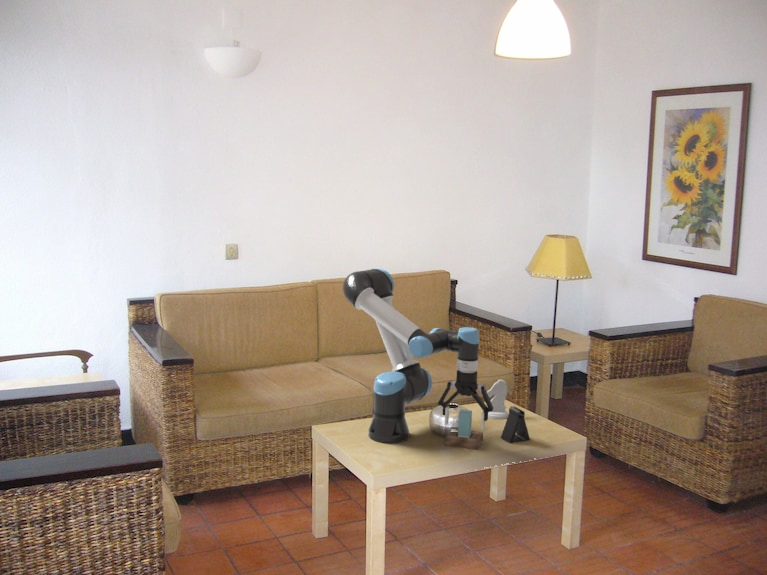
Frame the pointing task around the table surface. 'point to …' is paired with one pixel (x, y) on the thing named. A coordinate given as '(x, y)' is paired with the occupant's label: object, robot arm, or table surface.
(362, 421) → the table surface
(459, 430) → the peg
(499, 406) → the chess piece
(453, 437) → the board
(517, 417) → the picture frame
